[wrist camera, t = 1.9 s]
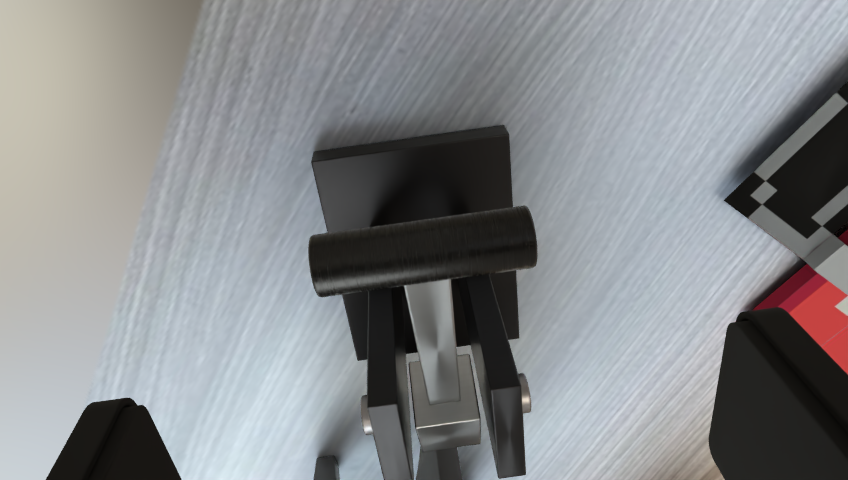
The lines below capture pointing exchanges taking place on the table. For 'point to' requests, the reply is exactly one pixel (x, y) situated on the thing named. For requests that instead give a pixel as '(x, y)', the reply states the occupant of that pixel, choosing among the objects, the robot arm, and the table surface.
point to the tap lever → (429, 298)
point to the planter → (435, 468)
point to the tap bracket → (472, 296)
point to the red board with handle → (808, 222)
